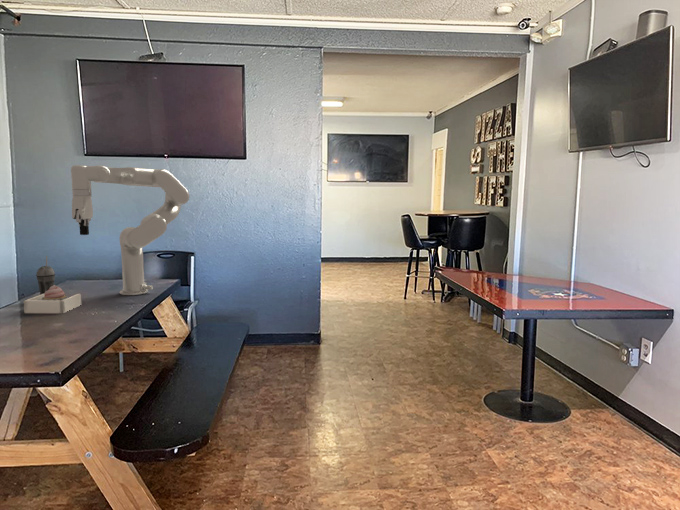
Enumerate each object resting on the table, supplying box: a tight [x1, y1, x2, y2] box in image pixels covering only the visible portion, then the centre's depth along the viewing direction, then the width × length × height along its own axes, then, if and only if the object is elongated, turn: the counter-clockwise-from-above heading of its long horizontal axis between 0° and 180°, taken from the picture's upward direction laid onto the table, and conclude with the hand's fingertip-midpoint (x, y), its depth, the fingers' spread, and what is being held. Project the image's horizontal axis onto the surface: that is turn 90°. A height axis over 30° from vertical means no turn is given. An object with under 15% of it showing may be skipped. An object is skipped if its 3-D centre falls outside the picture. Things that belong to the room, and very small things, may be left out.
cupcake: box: [42, 284, 68, 301], centre depth 203 cm, size 9×9×10 cm
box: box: [23, 293, 82, 314], centre depth 203 cm, size 15×14×5 cm
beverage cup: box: [35, 255, 56, 295], centre depth 216 cm, size 7×7×20 cm
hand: (84, 234), depth 220 cm, fingers closed
